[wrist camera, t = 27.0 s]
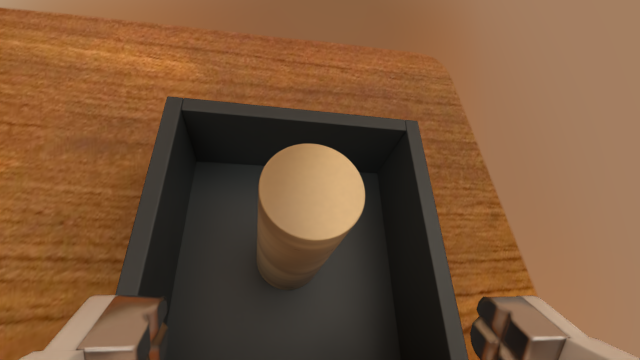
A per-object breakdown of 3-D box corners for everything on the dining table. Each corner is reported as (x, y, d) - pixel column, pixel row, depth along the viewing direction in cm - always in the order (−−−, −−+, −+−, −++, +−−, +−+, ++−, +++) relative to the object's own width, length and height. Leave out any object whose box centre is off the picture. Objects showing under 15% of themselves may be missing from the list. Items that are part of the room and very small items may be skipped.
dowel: (318, 228, 20) (360, 146, 12) (319, 290, 18) (370, 242, 10) (258, 226, 19) (261, 138, 11) (254, 290, 17) (254, 238, 9)
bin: (381, 171, 24) (417, 120, 18) (411, 390, 17) (479, 407, 12) (188, 158, 21) (166, 95, 16) (139, 405, 15) (77, 434, 10)
